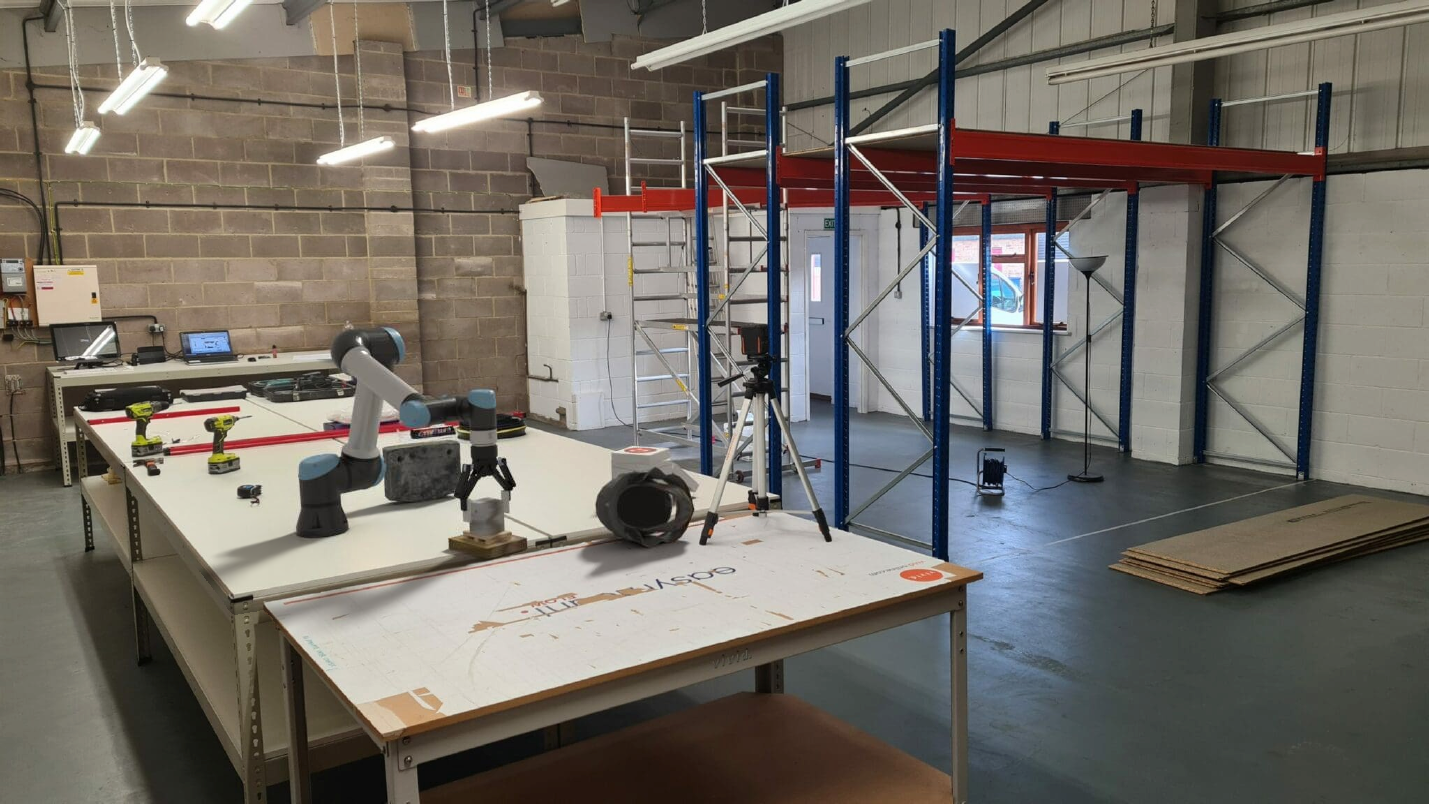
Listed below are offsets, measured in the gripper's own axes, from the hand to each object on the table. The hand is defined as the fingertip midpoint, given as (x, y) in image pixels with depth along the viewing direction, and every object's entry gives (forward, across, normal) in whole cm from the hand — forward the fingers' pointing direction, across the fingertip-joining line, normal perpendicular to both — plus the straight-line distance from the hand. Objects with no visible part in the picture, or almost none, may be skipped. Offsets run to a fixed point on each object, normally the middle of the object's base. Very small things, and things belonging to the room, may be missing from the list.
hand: (486, 517), depth 281 cm
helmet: (+9, +34, -28) cm, 45 cm away
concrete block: (+9, +26, +70) cm, 75 cm away
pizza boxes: (+10, +76, +5) cm, 77 cm away
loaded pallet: (+6, 0, 0) cm, 6 cm away
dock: (+9, 0, 0) cm, 9 cm away
